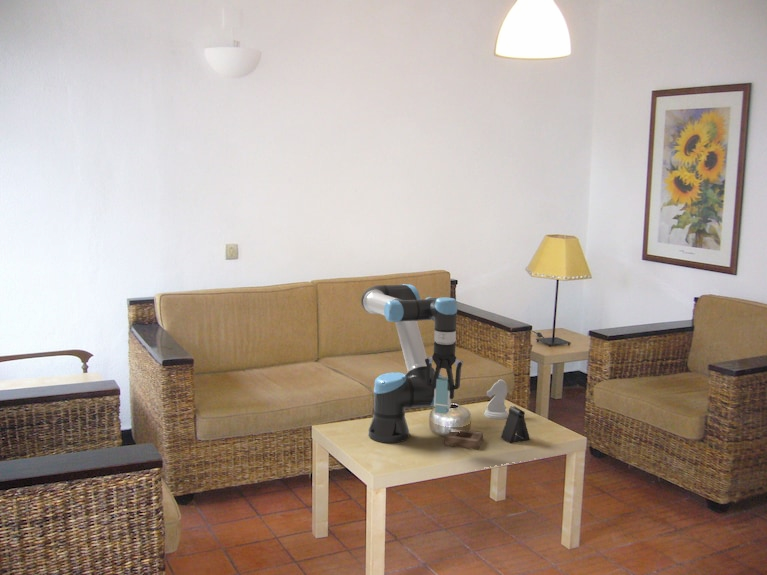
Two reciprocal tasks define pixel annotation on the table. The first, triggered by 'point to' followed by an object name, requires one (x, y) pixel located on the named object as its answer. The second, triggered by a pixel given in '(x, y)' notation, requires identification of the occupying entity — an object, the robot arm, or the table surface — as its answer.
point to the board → (464, 439)
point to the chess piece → (497, 401)
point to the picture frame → (515, 427)
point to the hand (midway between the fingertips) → (442, 406)
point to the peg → (441, 395)
